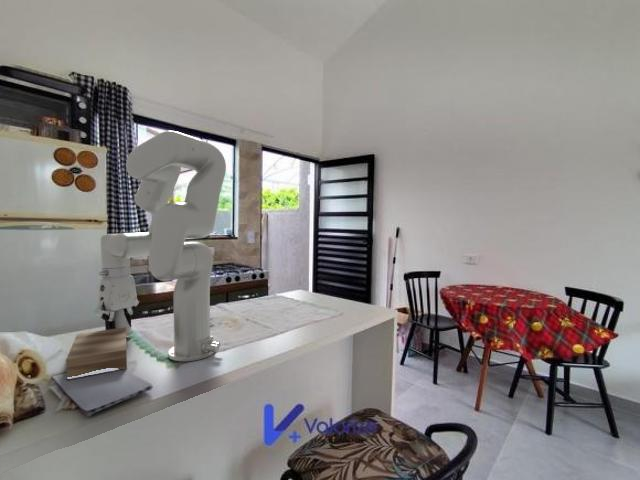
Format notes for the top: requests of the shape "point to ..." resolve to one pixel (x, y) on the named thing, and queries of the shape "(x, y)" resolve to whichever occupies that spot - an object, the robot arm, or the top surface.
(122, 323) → the flask
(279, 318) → the top surface
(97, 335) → the walnut riser
